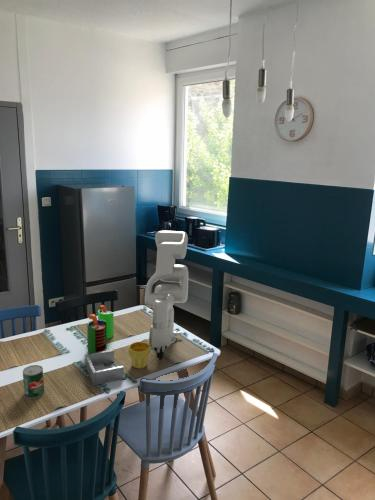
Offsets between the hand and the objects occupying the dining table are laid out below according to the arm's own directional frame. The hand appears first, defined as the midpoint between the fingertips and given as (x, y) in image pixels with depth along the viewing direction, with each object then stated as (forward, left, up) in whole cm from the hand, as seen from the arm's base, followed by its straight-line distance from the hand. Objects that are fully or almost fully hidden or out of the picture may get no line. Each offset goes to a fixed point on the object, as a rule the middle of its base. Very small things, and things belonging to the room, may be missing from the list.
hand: (159, 358), depth 198 cm
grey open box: (+27, 0, -1) cm, 27 cm away
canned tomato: (+58, +5, -2) cm, 59 cm away
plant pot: (+10, 0, -2) cm, 11 cm away
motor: (+26, -20, -2) cm, 33 cm away
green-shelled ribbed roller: (+17, -37, -2) cm, 41 cm away
